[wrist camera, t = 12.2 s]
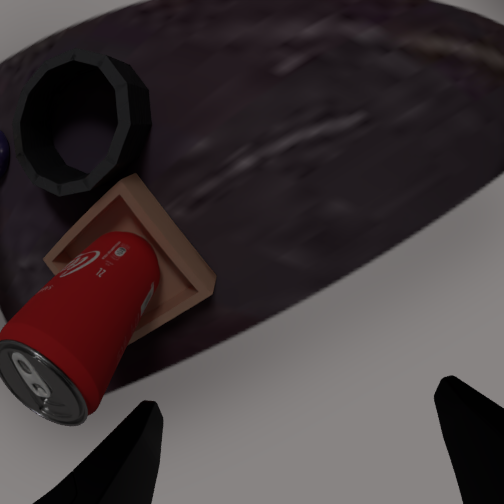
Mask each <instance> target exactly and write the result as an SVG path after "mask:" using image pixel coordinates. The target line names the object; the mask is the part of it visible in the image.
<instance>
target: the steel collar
mask: <svg viewBox="0 0 504 504" xmlns="http://www.w3.org/2000/svg"><path fill="white" fill-rule="evenodd" d="M98 68H100V70H101V71H102V72H103V74H104V75H105V77H106V78H107V79H108V81H109V82H110V83H111V85H112V86H113V88H114V89H115V94H116V106H117V117H118V126H117V128H116V131H115V134H114V137H113V139H112V142H111V145H110V148H109V151H108V154H107V157H106V158H105V159H104V160H103V161H102V162H101V163H100V164H99V165H98V166H97V167H96V168H95V169H94V170H93V171H92V172H91V173H88V174H86V173H84V172H82V171H79V170H77V169H75V168H72V167H70V166H68V165H66V164H65V162H64V161H63V159H62V158H61V156H60V155H59V153H58V152H57V150H56V149H55V147H54V146H53V139H52V130H51V117H52V114H53V111H54V108H55V105H56V102H57V99H58V96H59V94H60V93H61V92H62V91H63V90H64V89H65V88H66V86H67V85H68V84H69V83H70V82H71V81H72V80H73V79H74V78H75V77H76V76H77V75H80V74H83V73H86V72H89V71H92V70H95V69H98ZM12 124H13V135H14V144H15V152H16V158H17V159H18V161H19V163H20V164H21V166H22V168H23V169H24V171H25V172H26V174H27V176H28V177H29V179H30V180H31V182H32V183H33V184H34V185H36V186H38V187H40V188H42V189H44V190H46V191H48V192H51V193H53V194H55V195H57V196H59V197H60V196H64V195H69V194H74V193H79V192H84V191H90V190H92V189H94V188H96V187H98V186H100V185H103V184H105V183H107V182H109V181H111V180H114V179H115V178H116V177H117V176H118V175H119V174H120V173H122V172H123V171H124V170H125V169H126V168H127V167H128V166H129V165H130V164H132V163H133V162H134V161H135V160H136V159H137V158H139V155H140V153H141V150H142V147H143V145H144V142H145V140H146V137H147V135H148V132H149V130H150V127H151V125H152V121H151V111H150V101H149V89H148V88H147V87H146V86H145V84H144V83H143V82H142V80H141V79H140V78H139V76H138V75H137V74H136V73H135V71H134V70H133V69H132V67H131V66H130V65H129V64H126V63H124V62H122V61H119V60H117V59H114V58H112V57H109V56H107V55H103V54H99V53H95V52H90V51H86V50H82V49H77V48H75V49H72V50H70V51H67V52H65V53H62V54H60V55H58V56H55V57H53V58H51V59H49V60H46V61H45V62H44V63H43V64H42V65H41V66H40V68H39V69H38V70H37V71H36V72H35V74H34V75H33V76H32V77H31V78H30V80H29V81H28V82H27V83H26V85H25V86H24V87H23V89H22V92H21V95H20V98H19V101H18V105H17V108H16V112H15V115H14V119H13V123H12Z"/></svg>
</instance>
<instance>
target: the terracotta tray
mask: <svg viewBox="0 0 504 504" xmlns="http://www.w3.org/2000/svg"><path fill="white" fill-rule="evenodd" d="M114 231H121V232H122V231H127V232H132V233H135V234H138V235H140V236H141V237H143V238H144V239H146V240H147V241H148V242H149V243H150V245H151V246H152V247H153V249H154V251H155V252H156V255H157V258H158V263H159V269H160V280H159V284H158V287H157V289H156V291H155V293H154V295H153V296H152V298H151V300H150V302H149V304H148V306H147V308H146V310H145V312H144V314H143V315H142V317H141V319H140V321H139V323H138V325H137V327H136V329H135V331H134V333H133V335H132V337H131V339H130V341H129V343H128V345H129V344H131V343H133V342H134V341H136V340H138V339H139V338H141V337H143V336H144V335H146V334H148V333H149V332H151V331H153V330H154V329H156V328H158V327H159V326H161V325H163V324H164V323H166V322H168V321H169V320H171V319H173V318H174V317H176V316H178V315H179V314H181V313H183V312H184V311H186V310H188V309H189V308H191V307H193V306H194V305H196V304H198V303H199V302H201V301H203V300H204V299H206V298H207V297H209V296H211V295H212V294H213V290H214V285H215V281H216V277H217V275H216V274H215V273H214V272H213V271H212V269H211V268H210V267H209V266H208V264H207V263H206V262H205V261H204V259H203V258H202V257H201V256H200V254H199V253H198V252H197V251H196V249H195V248H194V247H193V246H192V244H191V243H190V242H189V241H188V239H187V238H186V237H185V236H184V234H183V233H182V232H181V231H180V229H179V228H178V227H177V226H176V224H175V223H174V222H173V220H172V219H171V218H170V217H169V215H168V214H167V213H166V211H165V210H164V209H163V208H162V206H161V205H160V204H159V202H158V201H157V200H156V198H155V197H154V196H153V195H152V193H151V192H150V191H149V189H148V188H147V187H146V185H145V184H144V183H143V181H142V180H141V179H140V177H139V176H138V175H137V173H134V174H132V175H130V176H127V177H125V178H123V179H121V180H120V181H118V182H117V183H116V184H115V185H114V186H113V187H112V188H111V189H110V190H109V191H108V192H107V193H106V194H105V195H103V196H102V197H101V198H100V199H99V200H98V201H97V202H96V203H95V204H94V205H93V206H92V207H91V208H90V209H89V210H88V211H87V212H86V213H85V214H84V215H83V216H82V217H81V218H80V219H79V220H78V221H77V222H76V223H75V224H74V225H73V226H72V228H71V229H70V230H69V231H68V232H67V233H66V234H65V235H64V236H63V237H62V238H61V239H60V240H59V242H58V243H57V244H56V245H55V246H54V247H53V248H52V249H51V250H50V252H49V253H48V254H47V255H46V256H45V257H44V258H43V260H44V262H45V263H46V264H47V266H48V267H49V268H50V269H51V271H52V272H53V273H54V274H55V276H56V275H57V274H58V273H59V272H60V271H61V270H62V269H63V268H64V267H65V266H67V265H68V264H69V263H70V262H71V261H72V260H73V259H74V258H76V257H77V256H78V255H79V254H80V253H81V252H82V251H84V250H85V249H86V248H87V247H88V246H89V245H91V244H92V243H93V242H94V241H95V240H97V239H98V238H99V237H100V236H102V235H104V234H106V233H109V232H114ZM128 345H127V346H128Z"/></svg>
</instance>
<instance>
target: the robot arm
mask: <svg viewBox="0 0 504 504" xmlns="http://www.w3.org/2000/svg"><path fill="white" fill-rule="evenodd" d="M434 402H435V405H436V409H437V413H438V417H439V422H440V426H441V430H442V434H443V438H444V441H445V444H446V447H447V450H448V453H449V456H450V459H451V462H452V466H453V469H454V472H455V475H456V479H457V482H458V486H459V489H460V493H461V497H462V501H463V504H504V408H502V407H501V406H499V405H498V404H496V403H495V402H493V401H492V400H490V399H489V398H487V397H486V396H484V395H482V394H481V393H479V392H478V391H477V390H475V389H474V388H472V387H470V386H469V385H467V384H466V383H464V382H462V381H461V380H460V379H458V378H457V377H455V376H447V377H444V378H443V379H441V381H440V383H439V385H438V388H437V390H436V392H435V394H434ZM162 432H163V416H162V414H161V412H160V409H159V407H158V404H157V403H156V402H155V401H146V400H144V401H142V402H141V403H140V404H139V405H138V406H137V407H136V408H135V409H134V410H133V411H132V412H131V413H130V414H129V415H128V416H127V417H126V418H125V419H124V420H123V421H122V422H121V423H120V424H119V425H118V426H117V427H116V428H115V429H114V430H113V431H112V432H111V433H110V434H109V435H108V436H107V437H106V438H105V439H104V440H103V441H102V442H101V443H100V444H99V445H98V446H97V447H96V448H95V449H94V450H93V451H92V452H91V453H90V454H89V455H88V456H87V457H86V458H85V459H84V460H83V461H82V462H81V463H80V464H79V465H78V466H77V467H76V468H75V469H74V470H73V471H72V472H71V473H70V474H68V475H67V477H65V478H64V479H63V480H62V481H61V482H60V483H59V484H58V485H57V486H55V487H54V488H53V489H52V490H51V491H49V492H48V493H47V494H46V495H44V496H43V497H41V498H40V499H39V500H37V501H36V502H34V503H33V504H151V502H152V497H153V493H154V488H155V483H156V478H157V474H158V469H159V464H160V453H161V442H162Z"/></svg>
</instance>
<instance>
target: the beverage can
mask: <svg viewBox="0 0 504 504" xmlns="http://www.w3.org/2000/svg"><path fill="white" fill-rule="evenodd" d="M159 280H160V269H159V263H158V258H157V255H156V252H155V251H154V249H153V247H152V246H151V245H150V243H149V242H148V241H147V240H146V239H144V238H143V237H141V236H140V235H138V234H135V233H132V232H127V231H122V232H121V231H114V232H109V233H106V234H104V235H102V236H100V237H99V238H98V239H97V240H95V241H94V242H93V243H92V244H91V245H89V246H88V247H87V248H86V249H85V250H84V251H82V252H81V253H80V254H79V255H78V256H77V257H76V258H74V259H73V260H72V261H71V262H70V263H69V264H68V265H67V266H65V267H64V268H63V269H62V270H61V271H60V272H59V273H58V274H57V275H56V276H54V277H53V278H52V279H51V280H50V281H49V282H48V283H47V284H46V285H45V286H44V287H43V288H42V289H41V290H40V291H39V292H38V293H36V294H35V295H34V296H33V297H32V298H31V299H30V300H29V301H28V302H27V303H26V304H25V305H24V306H23V307H22V308H21V309H20V310H19V311H18V312H17V313H16V314H15V316H14V317H13V318H12V319H11V320H10V321H9V322H8V323H7V324H6V325H5V326H4V327H3V329H2V330H1V332H0V377H1V379H2V380H3V382H4V383H5V385H6V386H7V387H8V389H9V390H10V391H11V392H12V393H13V394H14V395H15V397H16V398H17V399H19V400H20V401H21V402H22V403H23V404H24V405H25V406H27V407H28V408H29V409H30V410H32V411H33V412H35V413H36V414H38V415H40V416H41V417H43V418H45V419H47V420H49V421H52V422H54V423H57V424H60V425H65V426H78V425H80V424H82V423H84V421H85V420H86V419H87V416H88V415H90V414H92V413H93V412H95V411H96V409H97V408H98V406H99V404H100V402H101V400H102V398H103V395H104V393H105V391H106V389H107V387H108V385H109V382H110V380H111V378H112V376H113V374H114V372H115V370H116V368H117V365H118V363H119V361H120V359H121V357H122V355H123V353H124V351H125V349H126V347H127V345H128V343H129V341H130V339H131V337H132V335H133V333H134V331H135V329H136V327H137V325H138V323H139V321H140V319H141V317H142V315H143V314H144V312H145V310H146V308H147V306H148V304H149V302H150V300H151V298H152V296H153V295H154V293H155V291H156V289H157V287H158V284H159Z"/></svg>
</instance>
